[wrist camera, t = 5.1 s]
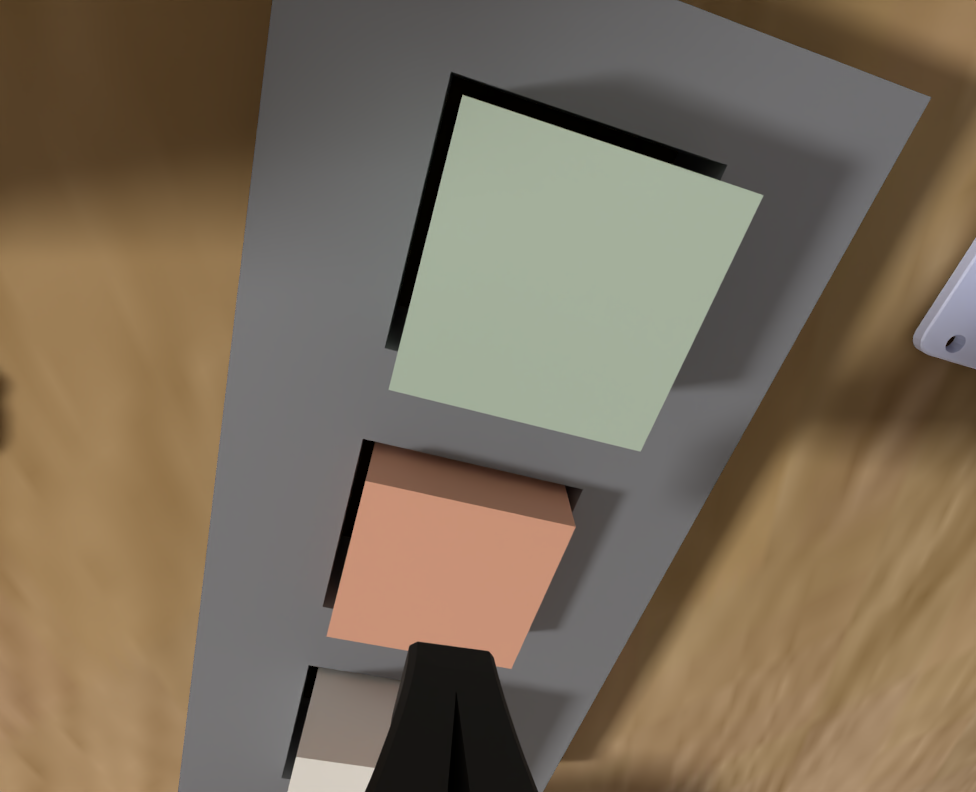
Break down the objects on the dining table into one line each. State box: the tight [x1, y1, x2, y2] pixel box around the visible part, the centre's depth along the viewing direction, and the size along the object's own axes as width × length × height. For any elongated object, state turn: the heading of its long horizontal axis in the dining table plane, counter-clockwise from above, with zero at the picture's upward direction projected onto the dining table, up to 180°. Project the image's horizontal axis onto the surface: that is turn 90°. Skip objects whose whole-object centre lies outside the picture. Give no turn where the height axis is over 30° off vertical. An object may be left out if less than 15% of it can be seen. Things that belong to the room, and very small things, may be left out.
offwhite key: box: [287, 667, 401, 792], centre depth 19 cm, size 5×5×4 cm
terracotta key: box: [326, 442, 576, 669], centre depth 17 cm, size 5×5×4 cm
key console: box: [178, 0, 931, 792], centre depth 17 cm, size 12×26×3 cm, turn 163°
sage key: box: [389, 94, 764, 452], centre depth 12 cm, size 5×5×4 cm
